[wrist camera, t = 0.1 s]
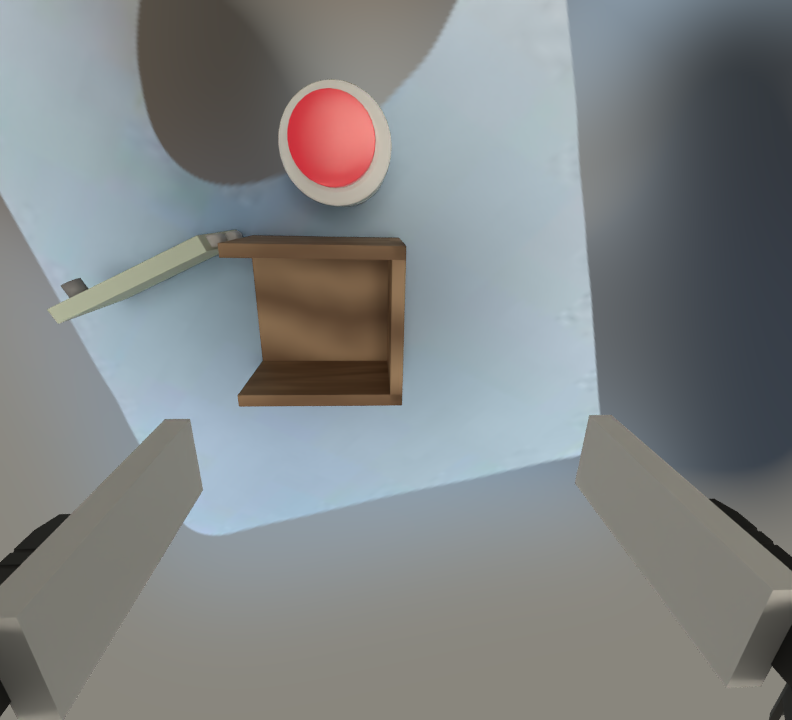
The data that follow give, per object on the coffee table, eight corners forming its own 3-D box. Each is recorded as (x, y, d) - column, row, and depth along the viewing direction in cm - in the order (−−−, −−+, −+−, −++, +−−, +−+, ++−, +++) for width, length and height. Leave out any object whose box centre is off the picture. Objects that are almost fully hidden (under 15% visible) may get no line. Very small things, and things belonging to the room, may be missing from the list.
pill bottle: (366, 92, 33) (363, 41, 23) (400, 186, 36) (411, 177, 26) (283, 131, 34) (244, 98, 24) (322, 220, 37) (303, 225, 27)
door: (234, 214, 36) (193, 215, 28) (248, 239, 37) (213, 248, 29) (109, 275, 37) (35, 294, 29) (126, 298, 38) (58, 323, 30)
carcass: (252, 235, 37) (217, 243, 28) (398, 237, 38) (406, 246, 29) (266, 366, 41) (239, 406, 33) (396, 366, 42) (401, 405, 34)
